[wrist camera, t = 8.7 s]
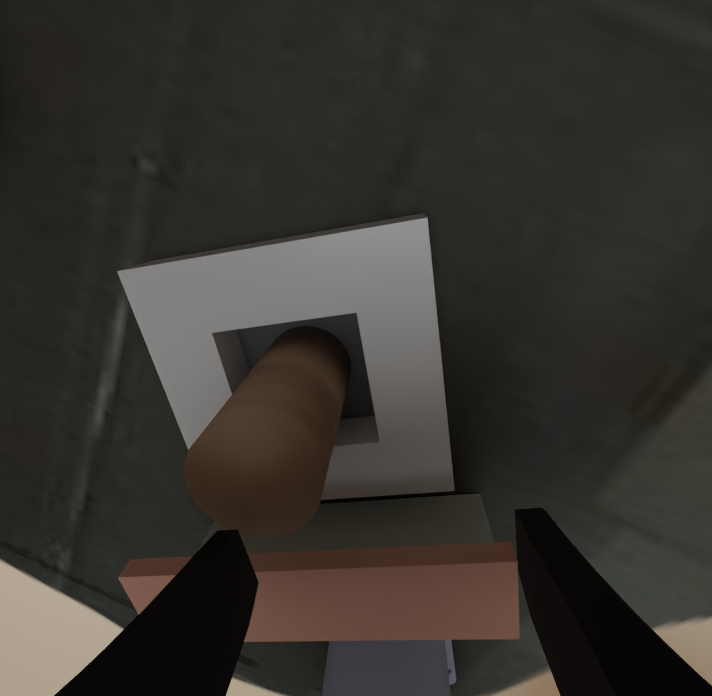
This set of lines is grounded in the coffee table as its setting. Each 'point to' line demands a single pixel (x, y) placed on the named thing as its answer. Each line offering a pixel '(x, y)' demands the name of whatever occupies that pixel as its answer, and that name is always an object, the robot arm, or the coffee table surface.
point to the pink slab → (371, 574)
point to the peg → (273, 437)
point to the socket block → (318, 309)
